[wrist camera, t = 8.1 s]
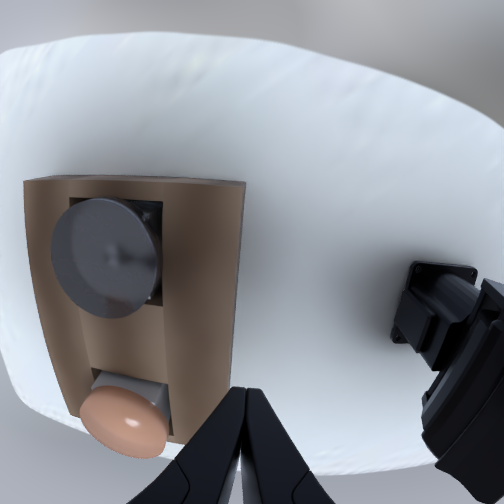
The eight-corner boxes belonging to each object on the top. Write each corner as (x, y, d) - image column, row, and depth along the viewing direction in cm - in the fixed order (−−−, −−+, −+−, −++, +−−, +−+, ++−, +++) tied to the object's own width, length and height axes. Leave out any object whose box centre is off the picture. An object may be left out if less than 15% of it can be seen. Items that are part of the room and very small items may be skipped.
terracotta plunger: (177, 363, 21) (159, 412, 16) (181, 419, 23) (168, 465, 18) (100, 347, 21) (69, 389, 16) (113, 404, 23) (91, 445, 18)
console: (245, 182, 18) (242, 187, 15) (227, 420, 24) (223, 450, 21) (53, 175, 18) (23, 180, 15) (85, 391, 24) (70, 414, 21)
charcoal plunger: (182, 190, 18) (154, 203, 13) (179, 287, 20) (156, 327, 15) (93, 187, 18) (46, 198, 13) (96, 276, 20) (58, 308, 15)
